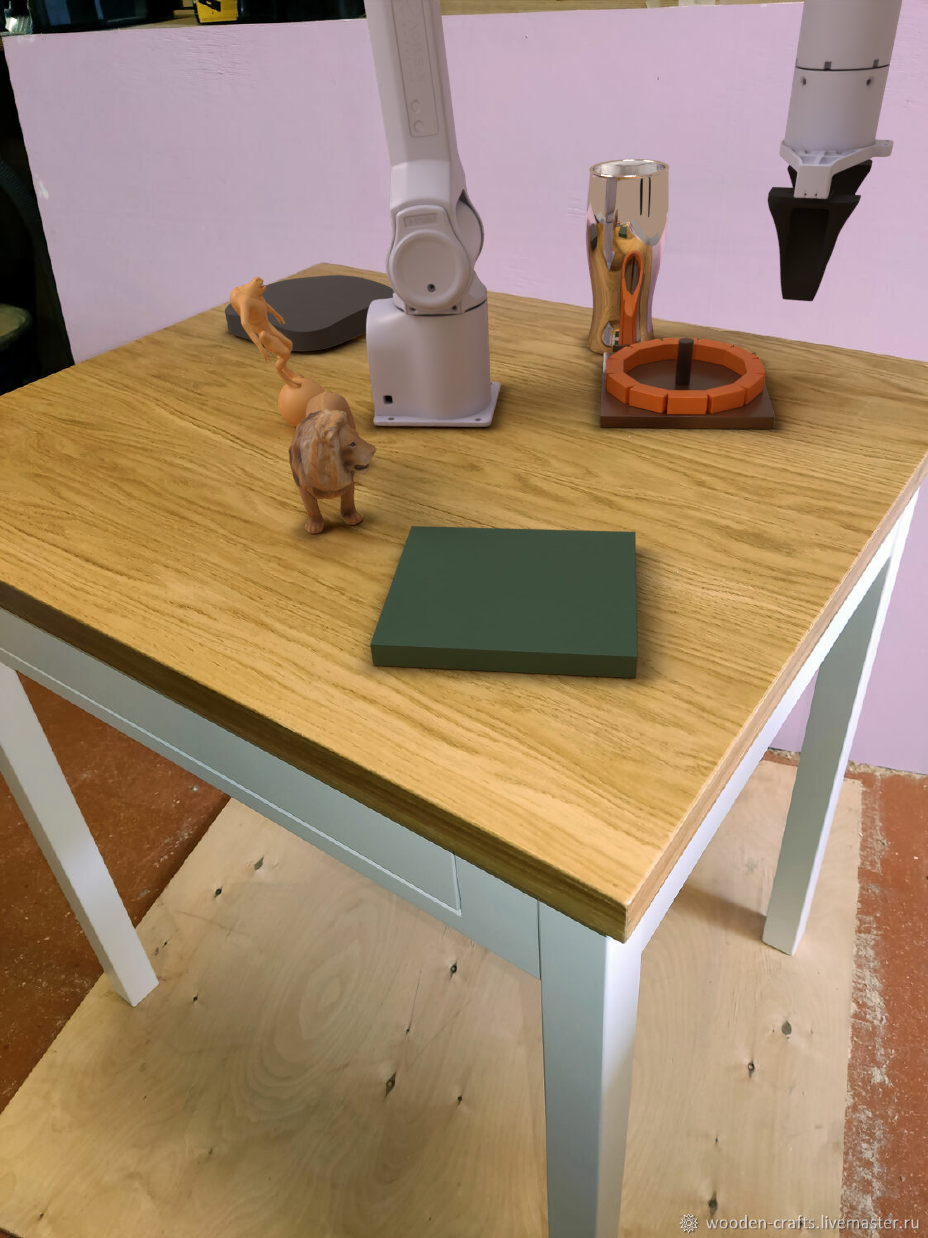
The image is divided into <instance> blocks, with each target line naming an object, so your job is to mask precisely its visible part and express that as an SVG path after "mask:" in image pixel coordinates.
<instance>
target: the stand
mask: <svg viewBox="0 0 928 1238" xmlns="http://www.w3.org/2000/svg"><path fill="white" fill-rule="evenodd" d="M636 534H637V533H636V531H623V530H622V531H621V530H619V531H618V530H617V531H616V530H583V529H582V530H580V529H547V528H544V529H543V528H542V529H541V528H539V529H538V528H510V527H509V528H508V527H507V528H502V527H467V526H466V527H465V526H464V527H463V526H431V525H430V526H428V525H427V526H426V525H411V526H410V529H409V533H408V535H407V537H406V540H405V544H404V547H403V550H402V552H401V555H400V557H399V561H398V564H397V566H396V569H395V573H394V575H393V578H392V581H391V583H390V587H389V589H388V592H387V595H386V598H385V601H384V603H383V606H382V609H381V612H380V615H379V617H378V621H377V623H376V626H375V629H374V631H373V635H372V636H371V641H370V643H369V646H370V651H371V653H370V654H371V659H372V665H373V666H378V667H382V666H383V667H400V668H401V667H402V668H418V669H419V668H420V669H439V670H460V671H461V670H462V671H483V672H501V673H502V672H504V673H520V674H521V673H523V674H525V673H526V674H543V675H544V674H545V675H563V676H580V677H581V676H583V677H605V678H622V679H623V678H624V679H625V678H626V679H636V678H637V670H638V657H639V656H638V655H639V654H638V653H639V652H638V602H637V601H638V597H637V594H638V593H637V592H638V591H637V540H636V539H637V537H636Z"/></svg>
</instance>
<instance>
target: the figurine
mask: <svg viewBox="0 0 928 1238" xmlns="http://www.w3.org/2000/svg"><path fill="white" fill-rule="evenodd" d="M264 283H265V281H264V279H262V278H261V277H260V276H255V277H253V278H252V279H251V280H250V281H249V282H248V283H246V284H243V285H240V286H237V287H234V288H233V289H232V290H231V292H230V294H229V301H230V303H231V304H232V306H233V308H234V309H235V311H236V312H237V313H238V314H239V315H240V317H241V324H242V326H243V328H244V329H245V331H246V332H247V334H248V335H249V336H250V338H251V339H252V340H251V341H252V343H254V345H255V346H256V347H257V349H258V350H259V353H260V355H261V356H262V358H263V359H264V362H265V363H266V364H268V362H269V363H272V361H274V358H273V357H272V356H271V355H270V354H272V353H273V354H274V355H276V356H277V360H276V361H275V363H274V367H275V371H276V374H277V375H278V376H279V378H280V379H282V380H283V382H285V384H284V385H283V387H282V388H281V390H280V392H279V393H278V396H277V397H278V398H277V407H278V411H279V413H280V416H281V418H282V419H283V420H284V421H285V422H286V423H287V424H288V425H290V426H292V427H294V428H296V427H297V426H298V425H299V424H300V423H301V420H302V419H305V417H306V408H307V404H308V402H309V401H310V400H311V399H312V398H313V397H315V396H317V395H319V394H321V393H323V392H325V391H326V390H325V389H324V388H323V386H322V385H321V384H320V383H318V382H317V381H315V380H314V379H311V378H307V377H305V376H304V375H303V374H301V373H296V372H294V371H293V370H292V369H291V368H289V367H288V366H287V363H288V362H289V360H290V358H291V357H290V356H291V352H292V347H293V344H292V342H291V340H289V339H288V338H286V337H285V336H284V335H283V334H282V333H280V332H279V331H278V330H276V329H275V327H274V326H272V325H271V323H270V322H268V316H267V311H268V312H270V313H272V314H273V315H274V316H275V317H276V319H277V320H278V321H279V323H280V324H281V322H282V323H283V324H284V323H285V321H284V320H283V318H282V317H281V316H280V315H279V314H278V313H277V312H276V311H275V310H274V309H273V308H272V307H271V306H270V305H269V304H267V303H266V301H265V299H264V297H263V296H262V294H263V293H264V292H265V291H266V285H265V284H264ZM280 321H281V322H280ZM285 324H286V323H285ZM254 332H255V333H256V334H258V336H259V338H258V336H257V335H256V334H255V333H254ZM271 360H272V361H271Z"/></svg>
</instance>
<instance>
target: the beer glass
mask: <svg viewBox="0 0 928 1238" xmlns="http://www.w3.org/2000/svg"><path fill="white" fill-rule="evenodd" d="M587 182H588V183H587V193H586V204H585V224H584V225H585V226H584V228H585V230H584V233H585V234H584V235H585V238H584V239H585V248H586V259H587V265H588V273H589V278H590V285H591V293H592V316H591V323H590V329H589V333H588V337H587V343H586V344H587V347H588V349H590V350H591V351H592V352H594V353H596V354H599V355H602V356H603V353H616V352H618V351H619V350H621V349H622V348H624V347H629V345H631V344H636V343H640V342H645V341H650V340H654V339H655V335H654V326H653V300H654V295H655V290H656V285H657V280H658V277H659V272H660V270H661V269H660V268H661V265H662V261H663V256H664V251H665V246H666V241H667V234H668V224H669V211H670V209H669V207H670V165H669V164H668V163H666V162H664V161H661V160H655V159H645V158H626V159H625V158H623V159H613V160H607V161H606V160H605V161H601V162H598V163H595V164H593V165H591V166H590V167H589V168H588V181H587Z"/></svg>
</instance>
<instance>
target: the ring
mask: <svg viewBox="0 0 928 1238" xmlns="http://www.w3.org/2000/svg"><path fill="white" fill-rule="evenodd" d="M681 338H682V337H663V338H662V340H661V339H660V338H654V340H650V341H645V342H640V343H636V344H631V345H629V347H624V348H622V349H621V350H619V351H618V352H616V353H615V354H613V355H611V356H610V357H609V358H608V359H607V361H606V385H605V388H606V389H607V391H608V392H609V393H610V394H612V395H613V396H615V397H616V398H617V399H619V400H620V401H621V402H623V403H624V404H627V403H629V405H630V406H633V407H637V408H641V409H646V410H650V411H654V412H658V413H663V412H664V411H665V410H667V414H698V415H705V414H706V411H708V412H709V413H711V414H713V413H717V412H721V411H725V410H730V409H734V408H738V407H742V406H743V404H748V403H749V402H750V401H752V400H753V399H754V398H755V397H756V396H757V395H759V394H760V393H761V392H762V389H763V387H764V382H765V380H766V370H765V366H764V363H763V360H762V359H761V358H760V356H758V355H757V354H756V355H757V356H756V355H754V354H752V353H750V351H749V350H747V349H744V347H743V348H742V347H741V346H739V345H737V346H735V344H733V343H727V342H723V341H718V340H713V339H707V338H701V339H699V338H698V337H690V338H691V339H693V340H694V347H693V357H692V359H695V360H700V361H705V362H710V363H715V364H719V365H724V366H726V367H727V368H729V369H731V370H733V371H734V372H736V373H738V374H740V375H741V376H742V377H741V378H740V379H738V380H737V381H736V382H735V383H733V384H730V385H725V386H721V387H717V388H712V389H708V390H666V389H662V388H657V387H653V386H649V385H644V384H640V383H639V382H637V381H636V380H634V379H633V378H631V377H630V376H628V375H627V374H626V373H627V372H629V371H630V370H632V369H633V368H634V367H636V366H637V365H642V364H646V363H651V362H656V361H660V360H677V353H678V342H679V339H681Z"/></svg>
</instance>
